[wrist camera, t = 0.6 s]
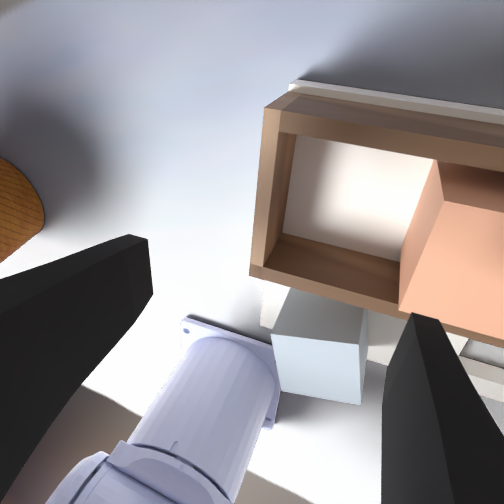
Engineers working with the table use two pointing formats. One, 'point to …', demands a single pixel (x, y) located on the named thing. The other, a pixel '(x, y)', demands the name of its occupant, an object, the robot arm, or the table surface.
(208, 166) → the table surface
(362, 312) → the white block
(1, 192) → the disposable coffee cup
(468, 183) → the terracotta cube
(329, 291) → the walnut cubby
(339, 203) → the deck
